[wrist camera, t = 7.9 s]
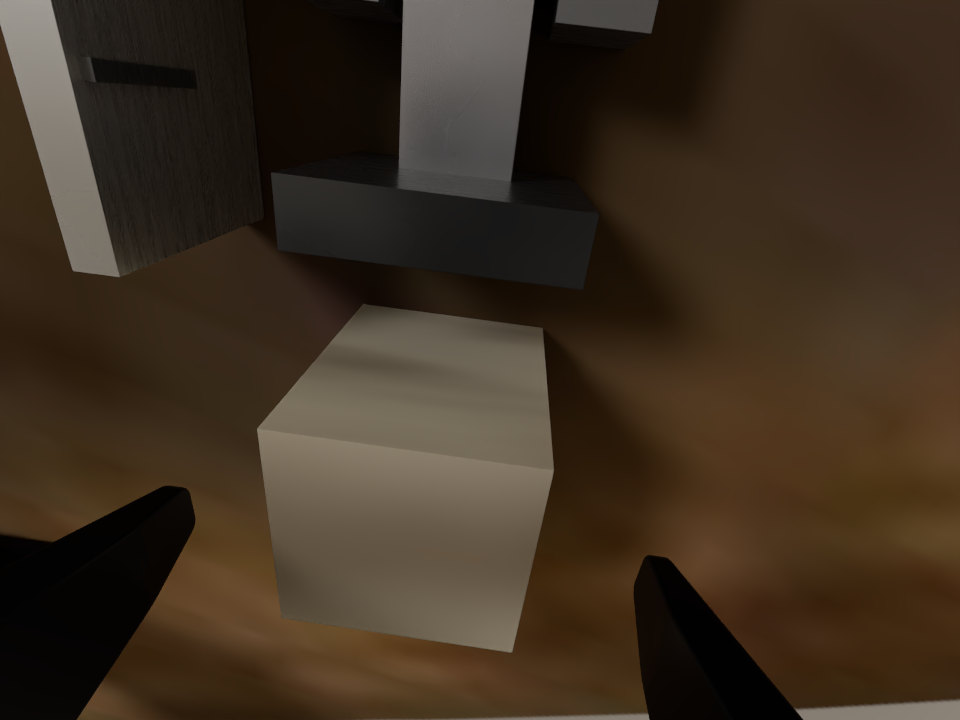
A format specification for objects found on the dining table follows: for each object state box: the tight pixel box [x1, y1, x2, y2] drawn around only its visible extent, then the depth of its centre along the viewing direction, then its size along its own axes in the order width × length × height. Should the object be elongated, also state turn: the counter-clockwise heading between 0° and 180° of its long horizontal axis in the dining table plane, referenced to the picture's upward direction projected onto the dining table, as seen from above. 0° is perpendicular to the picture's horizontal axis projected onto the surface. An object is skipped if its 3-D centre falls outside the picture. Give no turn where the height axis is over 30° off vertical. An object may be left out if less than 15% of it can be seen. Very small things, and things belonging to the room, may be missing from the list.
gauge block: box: [257, 304, 554, 653], centre depth 12 cm, size 5×5×6 cm
